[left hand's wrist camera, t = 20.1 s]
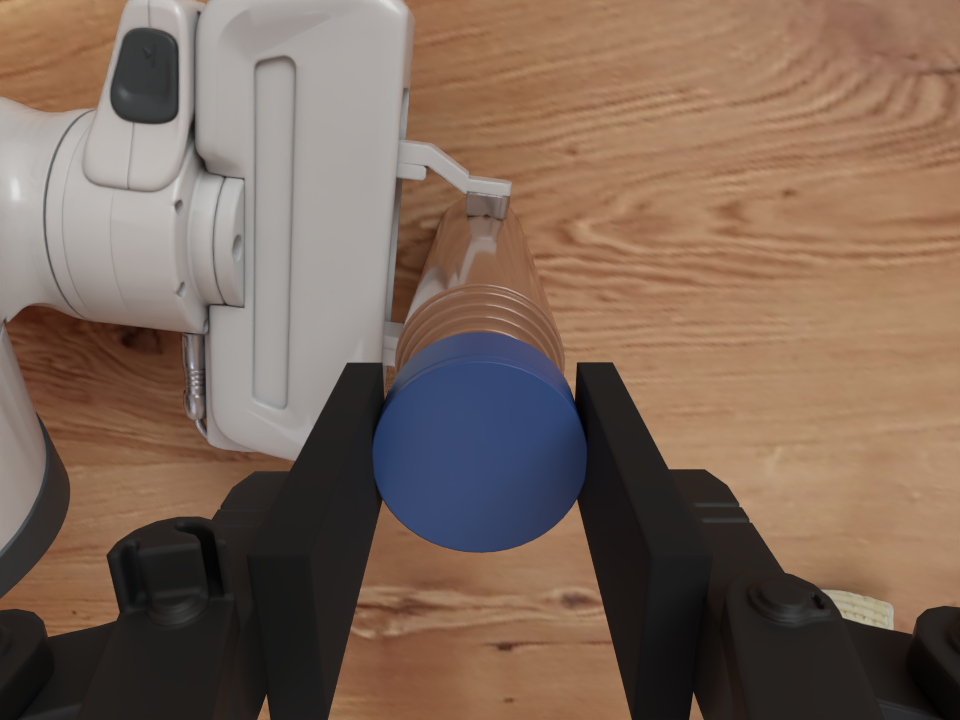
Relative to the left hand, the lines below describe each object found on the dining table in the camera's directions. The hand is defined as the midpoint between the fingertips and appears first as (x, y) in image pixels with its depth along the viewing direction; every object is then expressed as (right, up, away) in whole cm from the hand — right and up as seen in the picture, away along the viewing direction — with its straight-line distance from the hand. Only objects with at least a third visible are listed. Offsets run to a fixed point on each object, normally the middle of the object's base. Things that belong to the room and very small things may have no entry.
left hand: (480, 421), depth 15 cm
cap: (0, -1, -1) cm, 1 cm away
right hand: (+1, +5, +14) cm, 15 cm away
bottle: (0, +8, +20) cm, 22 cm away
